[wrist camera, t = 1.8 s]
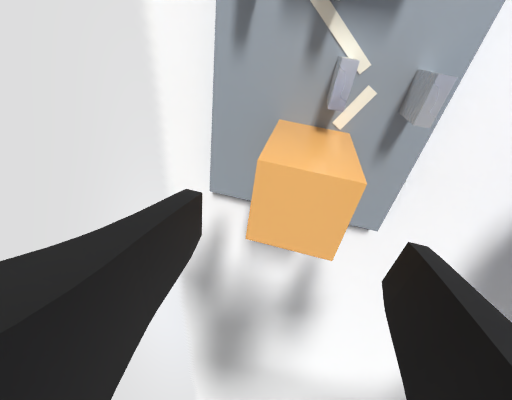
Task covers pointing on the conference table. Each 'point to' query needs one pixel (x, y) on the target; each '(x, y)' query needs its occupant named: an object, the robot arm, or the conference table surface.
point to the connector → (305, 189)
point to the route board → (320, 76)
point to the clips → (416, 100)
